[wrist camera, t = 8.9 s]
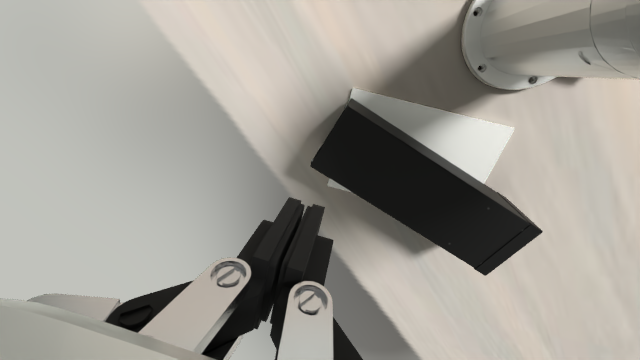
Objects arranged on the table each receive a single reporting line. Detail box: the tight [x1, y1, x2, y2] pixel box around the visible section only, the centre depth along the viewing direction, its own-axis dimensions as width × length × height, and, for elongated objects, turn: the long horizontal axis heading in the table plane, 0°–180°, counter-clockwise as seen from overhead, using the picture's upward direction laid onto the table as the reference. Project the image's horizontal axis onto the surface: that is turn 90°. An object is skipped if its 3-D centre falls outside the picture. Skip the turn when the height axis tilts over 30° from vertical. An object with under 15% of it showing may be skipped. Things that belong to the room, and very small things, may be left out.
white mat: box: [327, 88, 515, 193], centre depth 34 cm, size 20×14×1 cm
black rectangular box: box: [310, 98, 542, 275], centre depth 31 cm, size 8×8×28 cm
